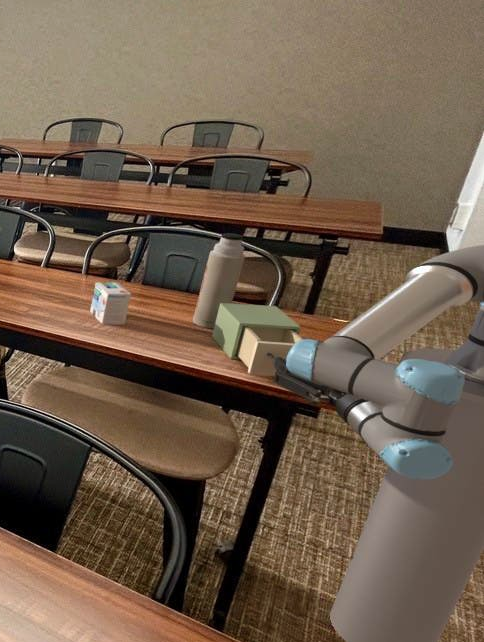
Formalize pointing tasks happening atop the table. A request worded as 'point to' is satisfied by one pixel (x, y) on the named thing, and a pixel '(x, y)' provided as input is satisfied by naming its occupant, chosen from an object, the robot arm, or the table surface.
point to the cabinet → (246, 323)
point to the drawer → (264, 348)
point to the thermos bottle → (219, 279)
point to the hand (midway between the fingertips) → (316, 365)
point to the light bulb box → (110, 303)
